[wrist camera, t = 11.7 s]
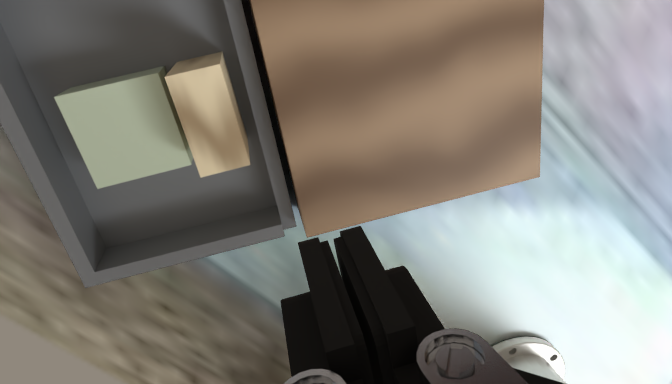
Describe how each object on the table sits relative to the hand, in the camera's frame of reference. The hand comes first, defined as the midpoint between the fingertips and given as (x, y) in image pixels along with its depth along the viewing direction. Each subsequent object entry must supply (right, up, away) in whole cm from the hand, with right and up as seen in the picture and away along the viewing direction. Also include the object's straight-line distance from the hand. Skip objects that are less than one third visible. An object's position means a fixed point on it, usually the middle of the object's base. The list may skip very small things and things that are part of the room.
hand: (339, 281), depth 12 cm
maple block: (-6, +8, +17) cm, 19 cm away
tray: (-13, +8, +19) cm, 24 cm away
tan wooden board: (+4, +12, +21) cm, 25 cm away
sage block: (-13, +6, +16) cm, 21 cm away
